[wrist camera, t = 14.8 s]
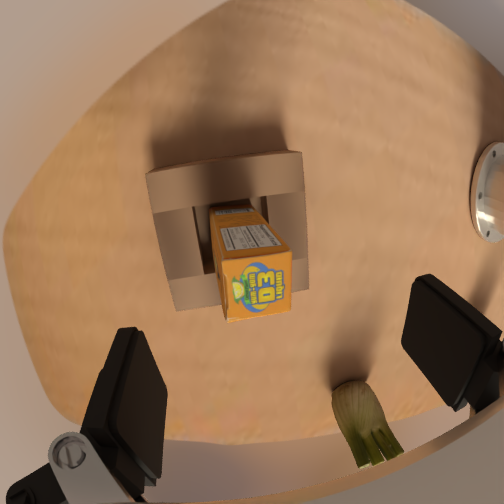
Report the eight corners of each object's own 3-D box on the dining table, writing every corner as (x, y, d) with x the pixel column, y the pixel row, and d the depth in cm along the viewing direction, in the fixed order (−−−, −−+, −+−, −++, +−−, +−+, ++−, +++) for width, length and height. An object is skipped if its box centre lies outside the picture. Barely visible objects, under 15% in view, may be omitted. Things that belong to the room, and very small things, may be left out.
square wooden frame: (285, 149, 22) (301, 152, 18) (294, 267, 25) (309, 289, 22) (155, 168, 21) (145, 174, 17) (179, 286, 24) (176, 311, 21)
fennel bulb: (319, 396, 32) (353, 475, 21) (346, 369, 31) (390, 448, 20) (348, 403, 34) (383, 472, 23) (373, 379, 33) (416, 448, 22)
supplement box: (257, 244, 22) (292, 318, 13) (212, 248, 22) (218, 327, 13) (255, 201, 21) (294, 251, 12) (208, 204, 21) (210, 259, 12)
